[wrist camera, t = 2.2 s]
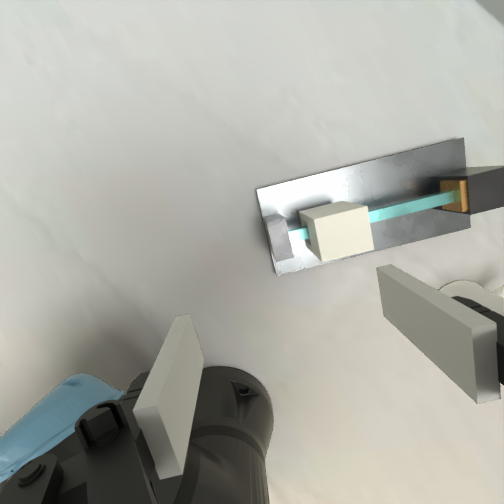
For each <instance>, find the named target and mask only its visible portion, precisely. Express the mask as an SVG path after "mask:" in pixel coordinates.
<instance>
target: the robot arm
mask: <svg viewBox="0 0 504 504" xmlns="http://www.w3.org/2000/svg"><path fill="white" fill-rule="evenodd" d="M376 269H377V276H378V282H379V289H380V295H381V302H382V308H383V315H384V317H385V318H386V319H387V320H389V321H390V322H391V323H392V324H393V325H394V326H395V327H396V328H397V329H398V330H399V331H400V332H401V333H402V334H403V335H405V336H406V337H407V338H408V339H409V340H410V341H411V342H412V343H413V344H414V345H415V346H416V347H417V348H418V349H419V350H420V351H422V352H423V353H424V354H425V355H426V356H427V357H428V358H429V359H430V360H431V361H432V362H433V363H434V364H435V365H436V366H437V367H439V368H440V369H441V370H442V371H443V372H444V373H445V374H446V375H447V376H448V377H449V378H450V379H451V380H452V381H453V382H455V383H456V384H457V385H458V386H459V387H460V388H461V389H462V390H463V391H464V392H465V393H466V394H467V395H468V396H469V397H470V398H472V399H473V400H474V401H475V402H476V403H477V404H481V403H485V402H489V401H493V400H497V399H501V393H500V383H501V384H503V385H504V316H502V315H500V314H499V313H497V312H495V311H491V309H489V308H487V307H485V306H482V305H481V304H479V303H477V302H475V301H473V300H471V299H468V298H464V297H460V296H454V297H449V296H447V295H445V294H444V293H442V292H440V291H438V290H436V289H435V288H433V287H431V286H429V285H427V284H426V283H424V282H422V281H420V280H418V279H417V278H415V277H413V276H411V275H409V274H408V273H406V272H404V271H402V270H400V269H399V268H397V267H395V266H393V265H391V264H390V265H386V266H382V267H378V268H376ZM203 364H204V357H203V354H202V350H201V347H200V344H199V341H198V338H197V335H196V331H195V328H194V325H193V322H192V319H191V316H190V314H186V315H182V316H178V317H175V319H174V321H173V324H172V326H171V328H170V330H169V332H168V335H167V337H166V339H165V341H164V343H163V345H162V348H161V350H160V352H159V354H158V356H157V359H156V361H155V363H154V365H153V367H152V369H151V371H149V372H145V373H141V374H140V375H139V376H138V377H137V378H136V379H135V380H134V381H133V382H132V384H131V386H130V388H129V389H128V391H127V393H126V395H124V393H125V392H124V391H123V390H117V389H115V388H113V387H112V386H110V385H108V384H107V383H105V382H103V381H101V380H100V379H98V378H96V377H95V376H93V375H90V374H86V373H80V374H75V375H72V376H70V377H68V378H67V379H65V380H64V381H63V382H61V383H60V384H59V385H58V386H57V387H55V388H54V389H53V390H52V391H51V392H50V393H49V394H47V395H46V396H45V397H44V398H43V399H42V400H41V401H40V402H39V403H37V404H36V405H35V406H34V407H33V408H32V409H31V410H30V411H29V412H28V413H26V414H25V415H24V416H23V417H22V418H21V419H20V420H19V421H18V422H17V423H16V424H14V425H13V426H12V427H11V428H10V429H9V430H8V431H7V432H6V433H5V434H4V435H3V436H1V437H0V504H269V495H268V486H267V477H266V469H265V457H266V454H267V450H268V446H269V442H270V439H271V435H272V431H273V422H274V419H273V410H272V404H271V400H270V397H269V394H268V393H267V391H266V389H265V388H264V386H263V385H262V384H261V383H260V382H259V381H258V380H257V379H256V378H254V377H253V376H251V375H250V374H248V373H246V372H244V371H241V370H238V369H235V368H230V367H211V368H206V369H203Z"/></svg>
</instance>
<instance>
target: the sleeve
mask: <svg viewBox="0 0 504 504" xmlns="http://www.w3.org/2000/svg"><path fill="white" fill-rule="evenodd" d="M299 215H300V220H301V225H302V226H306V225H307V227H308V232H309V237H310V238H309V239H305V244H306V247H307V248H308V249H309V250H310V251H311V252H312V253H313V254H314V255H315V256H316V257H317V258H318V259H319V260H320V261H321V262H322V263H323V262H327V261H331V260H335V259H339V258H343V257H347V256H351V255H355V254H359V253H363V252H367V251H371V250H374V245H373V238H372V232H371V226H370V219H369V213H368V206H365V205H360V204H355V203H350V202H346V201H338V202H334V203H330V204H326V205H322V206H318V207H314V208H310V209H306V210H302V211H299Z"/></svg>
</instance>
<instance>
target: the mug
mask: <svg viewBox="0 0 504 504" xmlns="http://www.w3.org/2000/svg"><path fill="white" fill-rule="evenodd" d="M438 291H440V292H442V293H444V294H445V295H447V296H449V297H454V296H460V297H464V298H468V299H471V300H473V301H475V302H477V303H479V304H481V305H482V306H485V307H487V308H489V309H491V311H495V312H497V313H499V314H500V315H502V316H504V298H503V296H504V285H503V286H501V287H500V288H498V289H497V290H495V291H493V292H490V291H488V290H486V289H484V288H483V287H481V286H480V285H478V284H477V283H474V282H472V281H466V280H461V281H455V282H452V283H449V284H447V285H445V286H444V287H442V288H441V289H440V290H438Z"/></svg>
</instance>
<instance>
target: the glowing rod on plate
mask: <svg viewBox="0 0 504 504" xmlns="http://www.w3.org/2000/svg"><path fill="white" fill-rule="evenodd" d="M256 192H257V196H258V200H259V205H260V209H261V213H262V217H263V221H264V226H265V230H266V234H267V238H268V242H269V247H270V251H271V255H272V259H273V263H274V268H275V272H276V275H277V276H278V275H282V274H286V273H291V272H295V271H299V270H303V269H307V268H311V267H315V266H319V265H323V264H327V263H331V262H335V261H339V260H343V259H347V258H351V257H355V256H359V255H363V254H367V253H371V252H375V251H379V250H383V249H387V248H391V247H395V246H399V245H403V244H408V243H412V242H416V241H420V240H424V239H428V238H432V237H436V236H440V235H444V234H448V233H452V232H456V231H460V230H464V229H468V228H471V225H470V215H472V214H476V213H480V212H484V211H488V210H492V209H496V208H500V207H504V166H487V167H467V168H466V159H465V146H464V138H458V139H454V140H450V141H446V142H442V143H438V144H434V145H430V146H426V147H422V148H418V149H414V150H410V151H406V152H402V153H398V154H394V155H390V156H387V157H383V158H379V159H375V160H371V161H367V162H363V163H359V164H355V165H351V166H347V167H343V168H339V169H335V170H331V171H327V172H323V173H319V174H315V175H311V176H307V177H303V178H299V179H295V180H291V181H287V182H284V183H280V184H276V185H272V186H268V187H264V188H260V189H256ZM338 201H346V202H350V203H355V204H360V205H365V206H368V213H369V219H370V226H371V232H372V238H373V245H374V250H371V251H367V252H363V253H359V254H355V255H351V256H347V257H343V258H339V259H335V260H331V261H327V262H323V263H322V262H321V261H320V260H319V259H318V258H317V257H316V256H315V255H314V254H313V253H312V252H311V251H310V250H309V249H308V248H307V247H306V244H305V239H309V238H310V237H309V232H308V227H307V225H306V226H302V225H301V220H300V215H299V211H302V210H306V209H310V208H314V207H318V206H322V205H326V204H330V203H334V202H338Z"/></svg>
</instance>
